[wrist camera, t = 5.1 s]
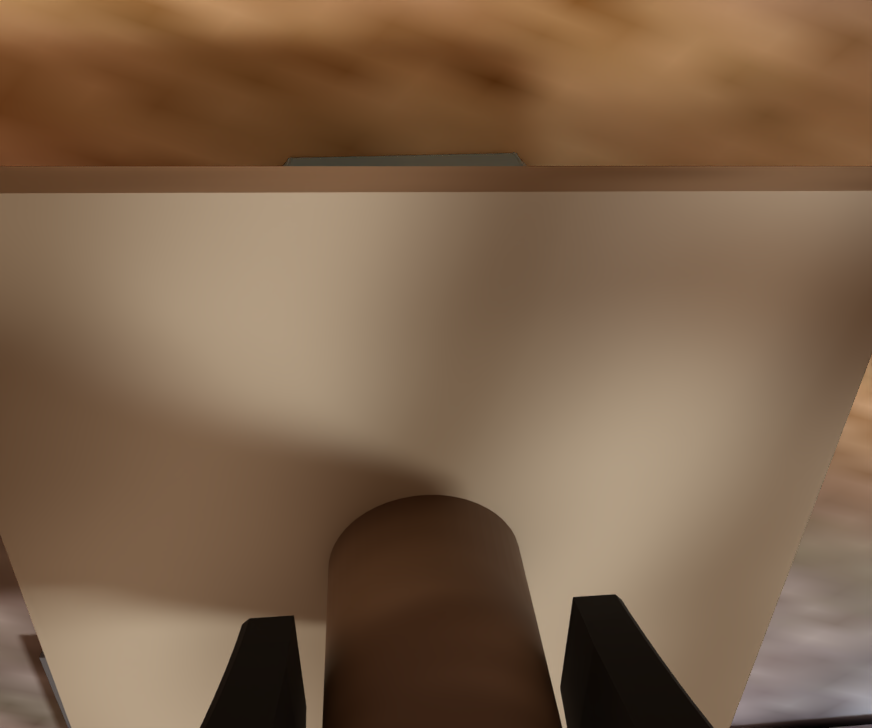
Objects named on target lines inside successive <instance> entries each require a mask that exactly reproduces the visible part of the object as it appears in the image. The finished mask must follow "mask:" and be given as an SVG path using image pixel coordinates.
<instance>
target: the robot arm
mask: <svg viewBox="0 0 872 728" xmlns="http://www.w3.org/2000/svg"><path fill="white" fill-rule="evenodd" d="M560 691H561V697H562V702H563V708H564V713H565V719H566V725H567V728H714V727H713V726H712V725H711V723H710V722H709V721H708V720H707V718H706V717H705V716H704V715H703V713H702V712H701V711H700V709H699V708H698V707H697V706H696V704H695V703H694V702H693V700H692V699H691V698H690V696H689V695H688V694H687V693H686V691H685V690H684V689H683V687H682V686H681V685H680V683H679V682H678V680H677V679H676V678H675V676H674V675H673V674H672V672H671V671H670V669H669V668H668V667H667V665H666V664H665V662H664V661H663V660H662V658H661V657H660V656H659V654H658V653H657V651H656V650H655V648H654V647H653V646H652V644H651V643H650V641H649V640H648V638H647V637H646V635H645V634H644V633H643V631H642V630H641V628H640V627H639V625H638V624H637V622H636V621H635V619H634V618H633V616H632V615H631V613H630V612H629V610H628V609H627V607H626V606H625V604H624V602H623V601H622V599H620V598H619V597H618V596H617V595H616V594H610V595H595V596H580V597H573V600H572V607H571V614H570V621H569V628H568V635H567V642H566V649H565V656H564V663H563V670H562V677H561V684H560ZM306 710H307V706H306V699H305V692H304V685H303V677H302V670H301V663H300V655H299V648H298V641H297V633H296V626H295V619H294V615H291V616H276V617H261V618H249V619H248V620H247V621H245V622H244V623H243V624H242V626H241V629H240V632H239V635H238V638H237V641H236V643H235V646H234V649H233V652H232V654H231V657H230V659H229V662H228V665H227V667H226V670H225V672H224V674H223V677H222V679H221V682H220V684H219V686H218V689H217V691H216V693H215V695H214V698H213V700H212V702H211V704H210V707H209V709H208V711H207V713H206V716H205V718H204V720H203V722H202V724H201V726H200V728H306ZM831 728H872V724H868V725H856V726H844V727H831Z"/></svg>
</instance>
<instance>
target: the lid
mask: <svg viewBox="0 0 872 728" xmlns="http://www.w3.org/2000/svg"><path fill="white" fill-rule="evenodd" d="M871 355H872V166H0V535H1V538H2V541H3V544H4V546H5V549H6V552H7V554H8V557H9V560H10V563H11V565H12V568H13V571H14V574H15V576H16V579H17V582H18V584H19V587H20V590H21V593H22V595H23V598H24V601H25V603H26V606H27V609H28V612H29V614H30V617H31V620H32V622H33V625H34V628H35V631H36V633H37V636H38V639H39V641H40V644H41V647H42V650H43V652H44V655H45V658H46V660H47V663H48V666H49V669H50V671H51V674H52V677H53V679H54V682H55V685H56V688H57V690H58V693H59V696H60V698H61V701H62V704H63V707H64V709H65V712H66V715H67V717H68V720H69V723H70V726H71V728H200V726H201V724H202V722H203V720H204V718H205V716H206V713H207V711H208V709H209V707H210V704H211V702H212V700H213V698H214V695H215V693H216V691H217V689H218V686H219V684H220V682H221V679H222V677H223V674H224V672H225V670H226V667H227V665H228V662H229V659H230V657H231V654H232V652H233V649H234V646H235V643H236V641H237V638H238V635H239V632H240V629H241V626H242V624H243V623H244V622H245V621H247V620H248V619H249V618H261V617H276V616H291V615H294V619H295V626H296V633H297V641H298V648H299V655H300V663H301V670H302V677H303V685H304V692H305V699H306V706H307V710H306V728H567V725H566V719H565V713H564V708H563V702H562V697H561V691H560V684H561V677H562V670H563V663H564V656H565V649H566V642H567V635H568V628H569V621H570V614H571V607H572V600H573V597H580V596H595V595H610V594H616V595H617V596H618V597H619V598H620V599H622V601H623V602H624V604H625V606H626V607H627V609H628V610H629V612H630V613H631V615H632V616H633V618H634V619H635V621H636V622H637V624H638V625H639V627H640V628H641V630H642V631H643V633H644V634H645V635H646V637H647V638H648V640H649V641H650V643H651V644H652V646H653V647H654V648H655V650H656V651H657V653H658V654H659V656H660V657H661V658H662V660H663V661H664V662H665V664H666V665H667V667H668V668H669V669H670V671H671V672H672V674H673V675H674V676H675V678H676V679H677V680H678V682H679V683H680V685H681V686H682V687H683V689H684V690H685V691H686V693H687V694H688V695H689V696H690V698H691V699H692V700H693V702H694V703H695V704H696V706H697V707H698V708H699V709H700V711H701V712H702V713H703V715H704V716H705V717H706V718H707V720H708V721H709V722H710V723H711V725H712V726H713V727H714V728H730V726H731V723H732V720H733V718H734V715H735V712H736V710H737V707H738V705H739V702H740V699H741V697H742V694H743V691H744V689H745V686H746V683H747V681H748V678H749V676H750V673H751V670H752V668H753V665H754V662H755V660H756V657H757V655H758V652H759V649H760V647H761V644H762V641H763V639H764V636H765V634H766V631H767V628H768V626H769V623H770V620H771V618H772V615H773V612H774V610H775V607H776V605H777V602H778V599H779V597H780V594H781V591H782V589H783V586H784V584H785V581H786V578H787V576H788V573H789V570H790V568H791V565H792V563H793V560H794V557H795V555H796V552H797V549H798V547H799V544H800V541H801V539H802V536H803V534H804V531H805V528H806V526H807V523H808V520H809V518H810V515H811V513H812V510H813V507H814V505H815V502H816V499H817V497H818V494H819V492H820V489H821V486H822V484H823V481H824V478H825V476H826V473H827V470H828V468H829V465H830V463H831V460H832V457H833V455H834V452H835V449H836V447H837V444H838V442H839V439H840V436H841V434H842V431H843V428H844V426H845V423H846V421H847V418H848V415H849V413H850V410H851V407H852V405H853V402H854V399H855V397H856V394H857V392H858V389H859V386H860V384H861V381H862V378H863V376H864V373H865V371H866V368H867V365H868V363H869V360H870V357H871Z"/></svg>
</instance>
